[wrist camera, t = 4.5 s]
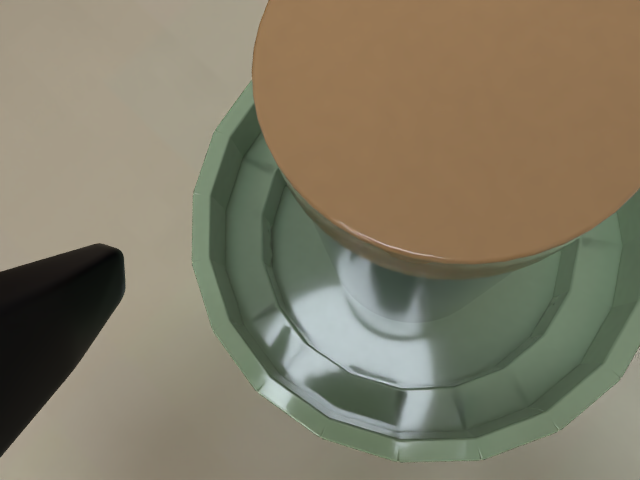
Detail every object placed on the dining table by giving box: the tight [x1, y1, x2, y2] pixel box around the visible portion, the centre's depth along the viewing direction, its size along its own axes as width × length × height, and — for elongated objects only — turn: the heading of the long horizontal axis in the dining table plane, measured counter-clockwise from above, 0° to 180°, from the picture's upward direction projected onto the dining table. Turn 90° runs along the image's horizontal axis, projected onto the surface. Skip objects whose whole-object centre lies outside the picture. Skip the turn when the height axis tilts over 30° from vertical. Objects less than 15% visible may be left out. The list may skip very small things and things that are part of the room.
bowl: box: [192, 80, 640, 463], centre depth 18 cm, size 14×14×4 cm
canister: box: [252, 0, 640, 323], centre depth 14 cm, size 6×6×12 cm
